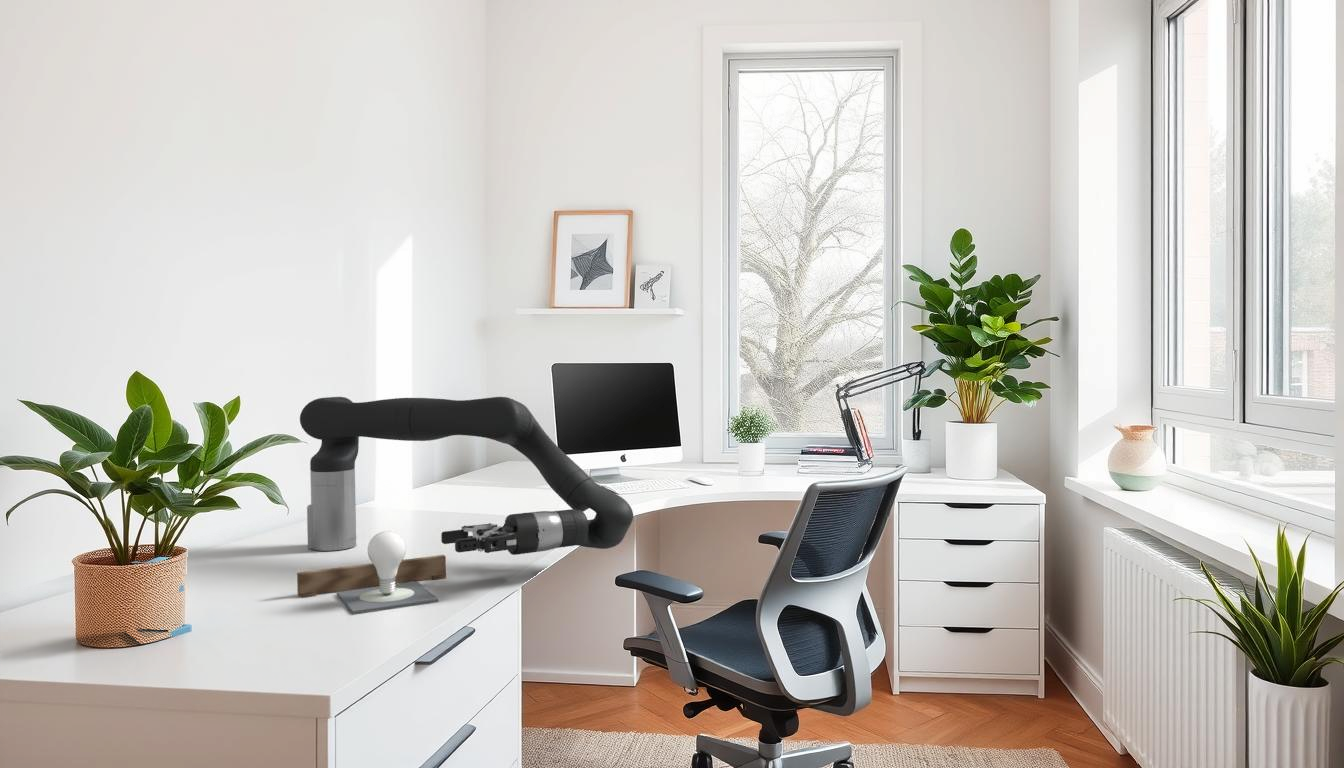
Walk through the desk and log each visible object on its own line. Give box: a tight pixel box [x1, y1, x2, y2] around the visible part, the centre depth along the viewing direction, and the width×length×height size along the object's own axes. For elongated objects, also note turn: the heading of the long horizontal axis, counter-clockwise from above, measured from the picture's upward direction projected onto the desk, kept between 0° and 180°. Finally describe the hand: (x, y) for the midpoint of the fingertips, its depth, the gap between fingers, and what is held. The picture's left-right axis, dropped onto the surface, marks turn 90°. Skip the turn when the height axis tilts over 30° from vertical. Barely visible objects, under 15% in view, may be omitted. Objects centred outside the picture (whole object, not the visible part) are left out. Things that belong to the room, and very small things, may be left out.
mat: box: [336, 581, 440, 615], centre depth 154 cm, size 14×14×1 cm
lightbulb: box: [367, 530, 407, 595], centre depth 154 cm, size 6×6×11 cm
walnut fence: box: [296, 554, 447, 599], centre depth 163 cm, size 26×3×4 cm, turn 121°
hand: (448, 542), depth 159 cm, fingers open, 8 cm apart
